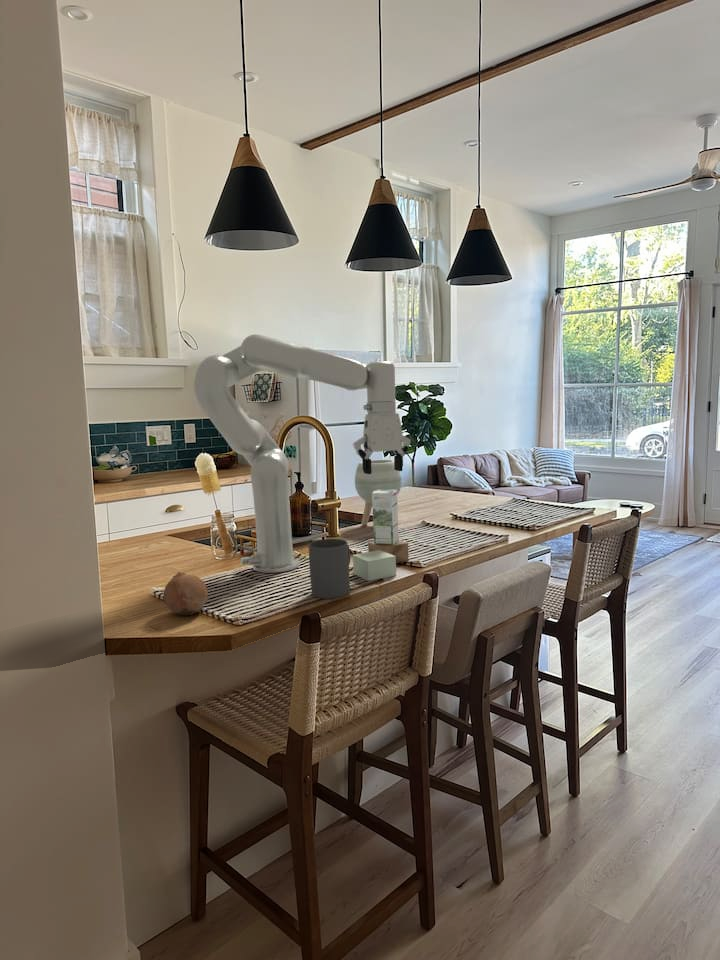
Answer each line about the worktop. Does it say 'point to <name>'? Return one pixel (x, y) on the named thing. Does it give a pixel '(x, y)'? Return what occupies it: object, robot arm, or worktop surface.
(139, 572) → the worktop surface
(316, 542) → the mug
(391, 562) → the sage block
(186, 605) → the onion
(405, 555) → the walnut block
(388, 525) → the syrup box
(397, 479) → the planter
